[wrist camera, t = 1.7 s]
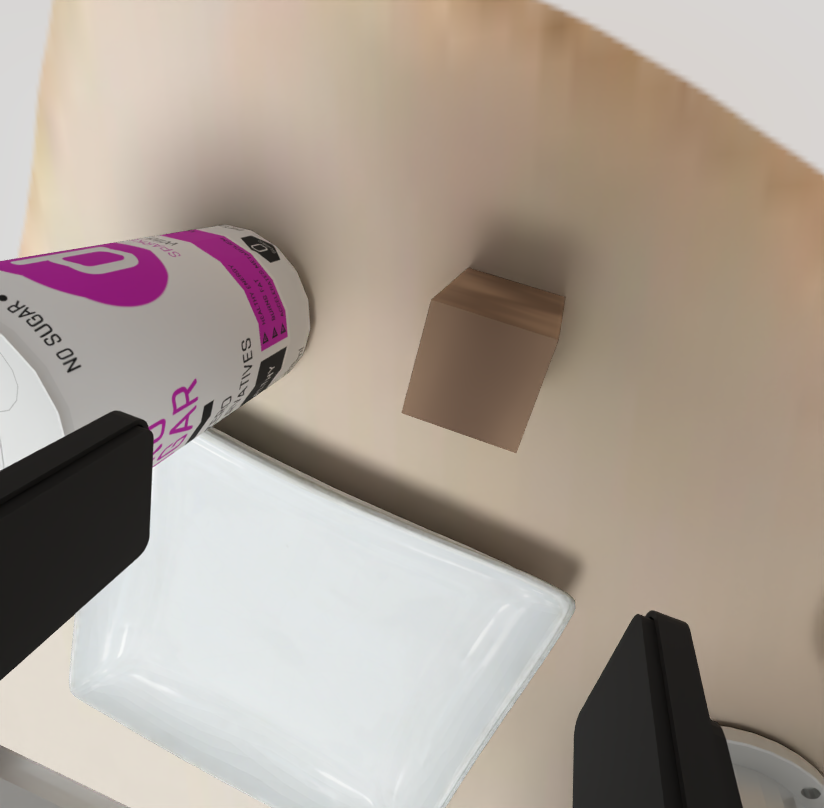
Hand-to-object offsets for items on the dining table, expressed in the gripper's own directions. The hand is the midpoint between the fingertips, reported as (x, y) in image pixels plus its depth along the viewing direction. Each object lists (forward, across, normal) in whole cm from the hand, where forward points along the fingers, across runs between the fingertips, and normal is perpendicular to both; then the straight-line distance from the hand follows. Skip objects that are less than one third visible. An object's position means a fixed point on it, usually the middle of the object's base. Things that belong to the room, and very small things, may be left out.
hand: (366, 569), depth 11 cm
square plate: (+18, +7, +23) cm, 30 cm away
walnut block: (+18, 0, 0) cm, 18 cm away
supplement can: (+18, +13, +3) cm, 23 cm away
